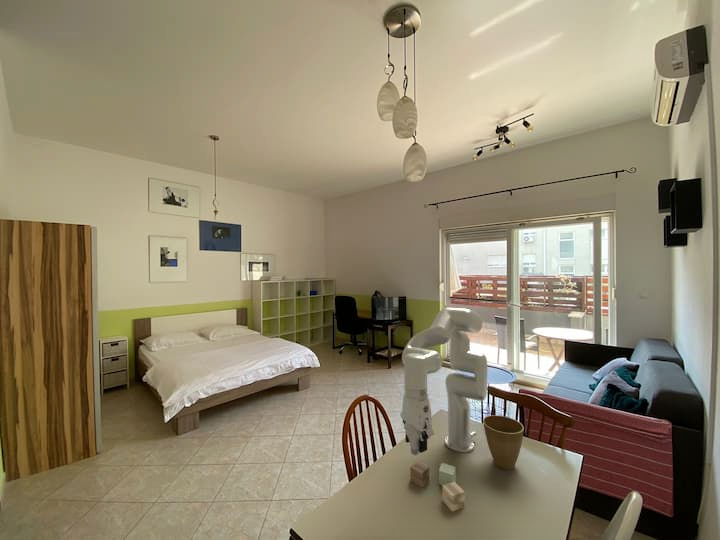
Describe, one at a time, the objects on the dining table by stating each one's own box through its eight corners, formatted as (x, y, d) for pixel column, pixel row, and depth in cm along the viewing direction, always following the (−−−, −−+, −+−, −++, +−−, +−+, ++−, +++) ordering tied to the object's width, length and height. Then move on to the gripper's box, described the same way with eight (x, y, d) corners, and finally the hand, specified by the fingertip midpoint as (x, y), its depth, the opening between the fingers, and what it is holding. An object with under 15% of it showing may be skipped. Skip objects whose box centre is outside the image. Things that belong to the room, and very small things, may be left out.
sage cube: (442, 476, 109) (442, 462, 110) (455, 480, 107) (455, 467, 107) (438, 484, 105) (438, 470, 105) (453, 489, 103) (452, 475, 103)
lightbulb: (411, 446, 100) (411, 415, 100) (427, 454, 97) (427, 421, 96) (402, 455, 96) (402, 422, 96) (418, 463, 92) (419, 429, 92)
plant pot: (514, 453, 124) (513, 415, 124) (531, 477, 109) (531, 434, 109) (478, 451, 125) (478, 413, 125) (490, 474, 110) (490, 432, 111)
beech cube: (454, 496, 99) (454, 481, 99) (464, 507, 95) (464, 491, 95) (442, 500, 98) (442, 485, 98) (452, 511, 93) (452, 496, 93)
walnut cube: (417, 474, 111) (417, 460, 111) (429, 480, 107) (429, 466, 107) (410, 480, 107) (410, 467, 107) (422, 487, 104) (421, 473, 104)
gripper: (443, 398, 91) (443, 456, 91) (407, 381, 106) (407, 431, 105) (425, 404, 87) (426, 464, 87) (391, 385, 102) (391, 437, 102)
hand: (416, 445), depth 96 cm, fingers closed on lightbulb, 5 cm apart
